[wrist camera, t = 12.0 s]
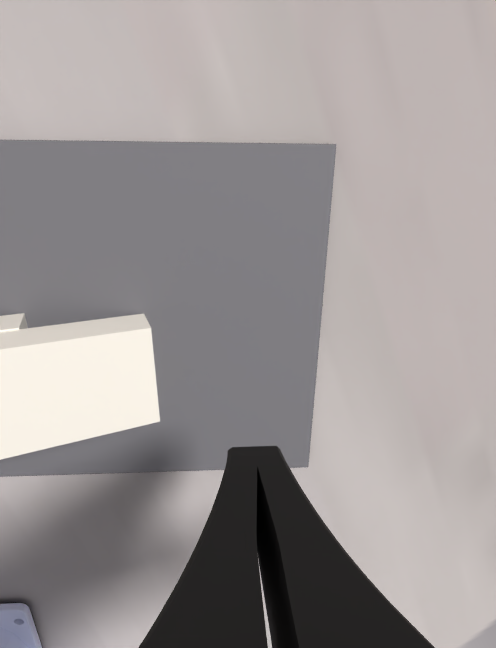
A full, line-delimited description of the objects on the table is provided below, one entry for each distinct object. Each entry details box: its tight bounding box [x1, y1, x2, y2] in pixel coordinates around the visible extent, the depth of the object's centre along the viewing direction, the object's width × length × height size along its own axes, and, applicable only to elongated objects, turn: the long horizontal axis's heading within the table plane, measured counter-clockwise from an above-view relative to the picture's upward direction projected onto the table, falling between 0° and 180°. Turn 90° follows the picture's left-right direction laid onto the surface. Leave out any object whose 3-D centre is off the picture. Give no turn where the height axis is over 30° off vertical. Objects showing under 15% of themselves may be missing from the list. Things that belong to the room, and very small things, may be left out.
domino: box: [0, 314, 160, 460], centre depth 13 cm, size 4×2×7 cm
